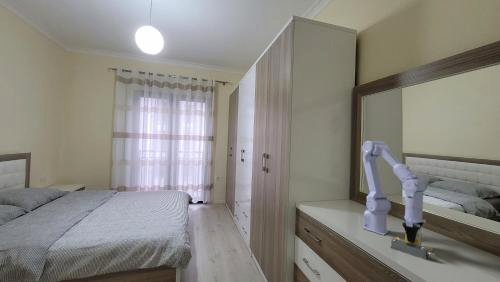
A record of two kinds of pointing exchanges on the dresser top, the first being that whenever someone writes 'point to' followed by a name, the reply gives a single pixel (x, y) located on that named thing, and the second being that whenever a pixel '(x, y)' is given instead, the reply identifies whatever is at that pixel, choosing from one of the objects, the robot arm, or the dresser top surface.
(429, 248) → the guard rails
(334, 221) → the dresser top surface
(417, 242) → the supplement bottle
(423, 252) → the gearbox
